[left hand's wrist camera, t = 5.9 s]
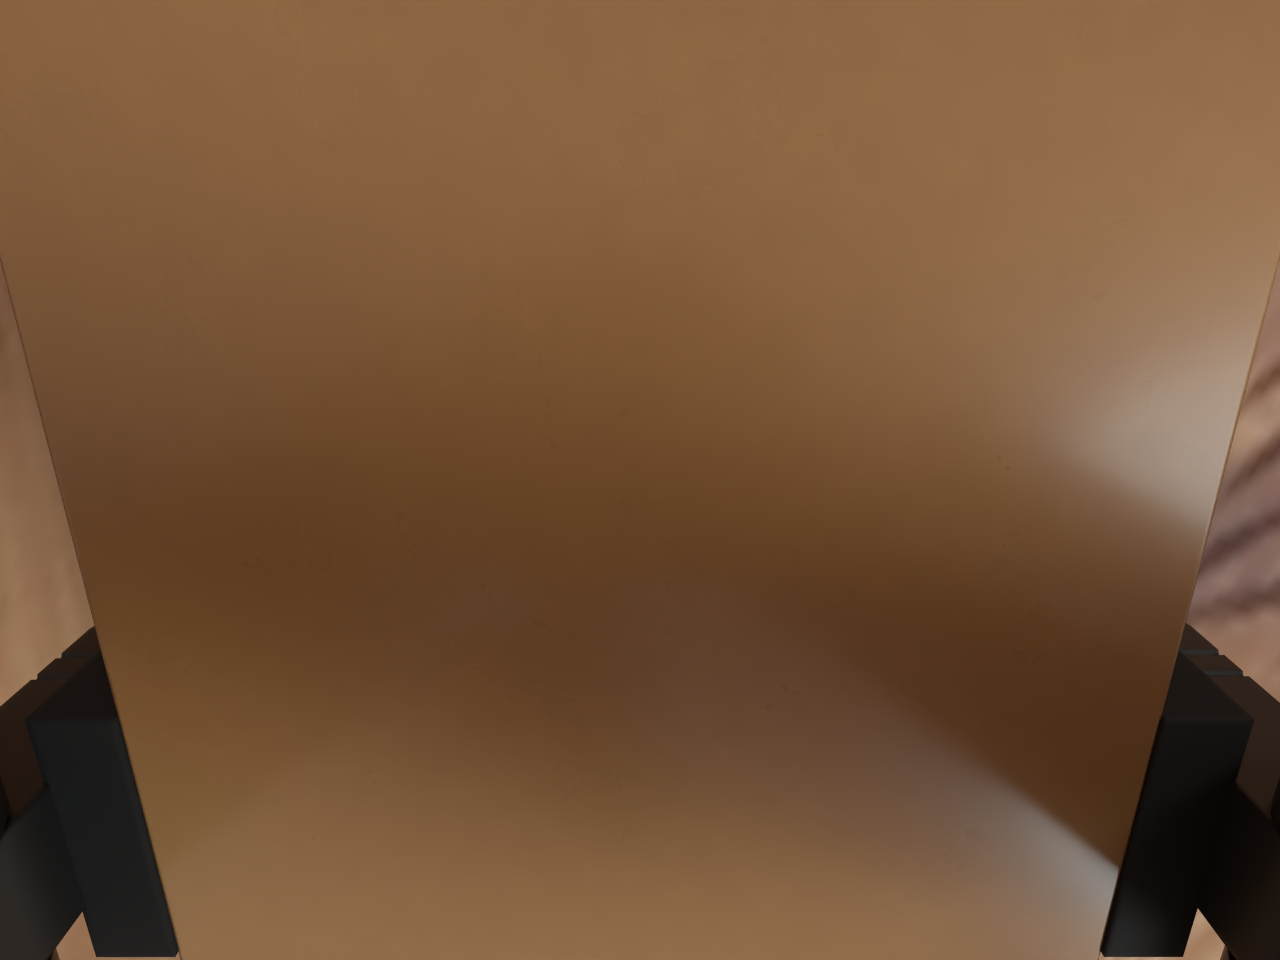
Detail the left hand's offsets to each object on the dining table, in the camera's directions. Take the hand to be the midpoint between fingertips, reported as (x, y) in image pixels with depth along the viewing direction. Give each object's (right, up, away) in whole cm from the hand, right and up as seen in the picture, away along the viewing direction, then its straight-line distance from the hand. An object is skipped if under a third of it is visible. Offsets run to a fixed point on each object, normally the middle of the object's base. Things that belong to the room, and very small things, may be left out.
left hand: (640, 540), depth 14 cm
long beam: (0, +20, -7) cm, 21 cm away
